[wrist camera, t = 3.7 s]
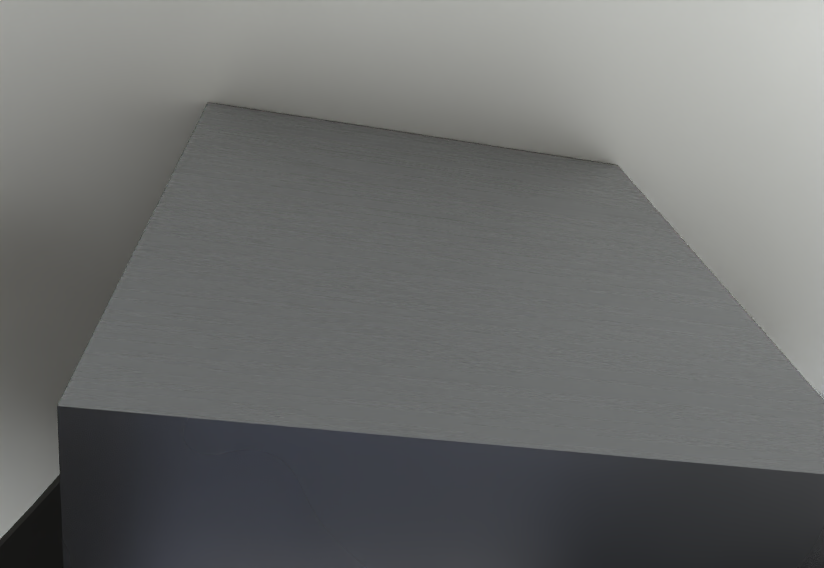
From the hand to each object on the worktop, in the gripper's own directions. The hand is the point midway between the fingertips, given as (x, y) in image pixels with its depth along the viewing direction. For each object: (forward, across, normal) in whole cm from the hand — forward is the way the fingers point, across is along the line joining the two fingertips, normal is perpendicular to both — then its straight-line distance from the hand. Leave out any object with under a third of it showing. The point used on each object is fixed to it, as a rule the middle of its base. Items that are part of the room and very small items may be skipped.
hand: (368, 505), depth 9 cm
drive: (+1, 0, 0) cm, 1 cm away
